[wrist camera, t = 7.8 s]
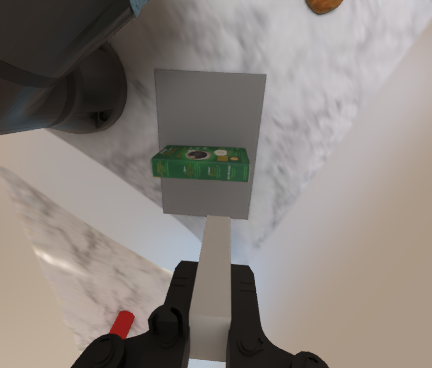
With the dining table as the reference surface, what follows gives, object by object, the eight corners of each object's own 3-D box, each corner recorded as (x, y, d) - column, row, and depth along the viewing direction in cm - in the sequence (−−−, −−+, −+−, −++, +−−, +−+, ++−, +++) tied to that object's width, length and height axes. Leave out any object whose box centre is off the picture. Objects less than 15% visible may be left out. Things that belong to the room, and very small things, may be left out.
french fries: (127, 331, 54) (98, 397, 42) (112, 325, 53) (78, 390, 41) (138, 311, 50) (110, 377, 38) (122, 305, 50) (88, 370, 38)
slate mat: (164, 212, 38) (163, 213, 38) (155, 69, 29) (154, 69, 29) (247, 218, 38) (247, 219, 37) (266, 74, 28) (266, 74, 28)
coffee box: (244, 163, 34) (167, 160, 34) (245, 146, 32) (165, 143, 33) (249, 184, 26) (151, 179, 27) (251, 163, 25) (148, 158, 25)
